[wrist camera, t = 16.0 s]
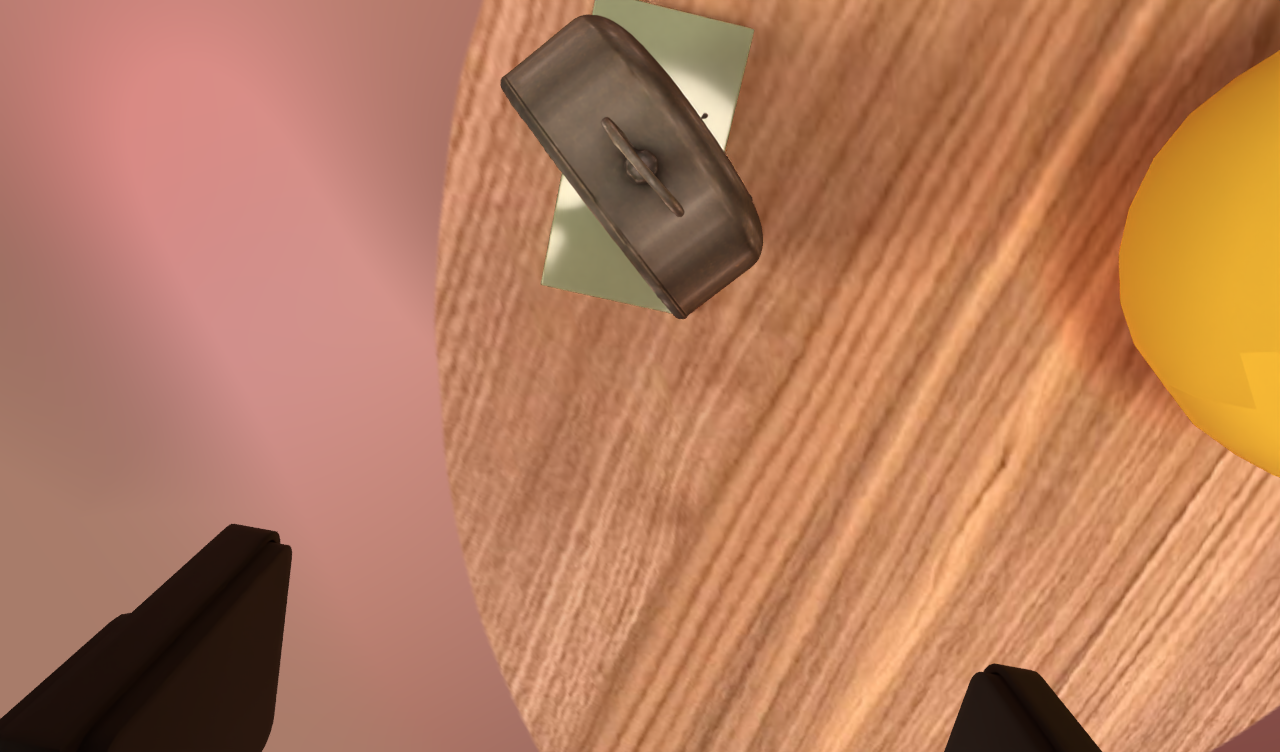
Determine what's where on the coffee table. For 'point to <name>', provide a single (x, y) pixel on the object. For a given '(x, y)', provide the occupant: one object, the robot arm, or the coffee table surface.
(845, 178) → the coffee table surface
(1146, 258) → the vase
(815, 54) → the coffee table surface
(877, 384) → the coffee table surface
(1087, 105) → the coffee table surface
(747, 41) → the green rectangular slab
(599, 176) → the alarm clock
